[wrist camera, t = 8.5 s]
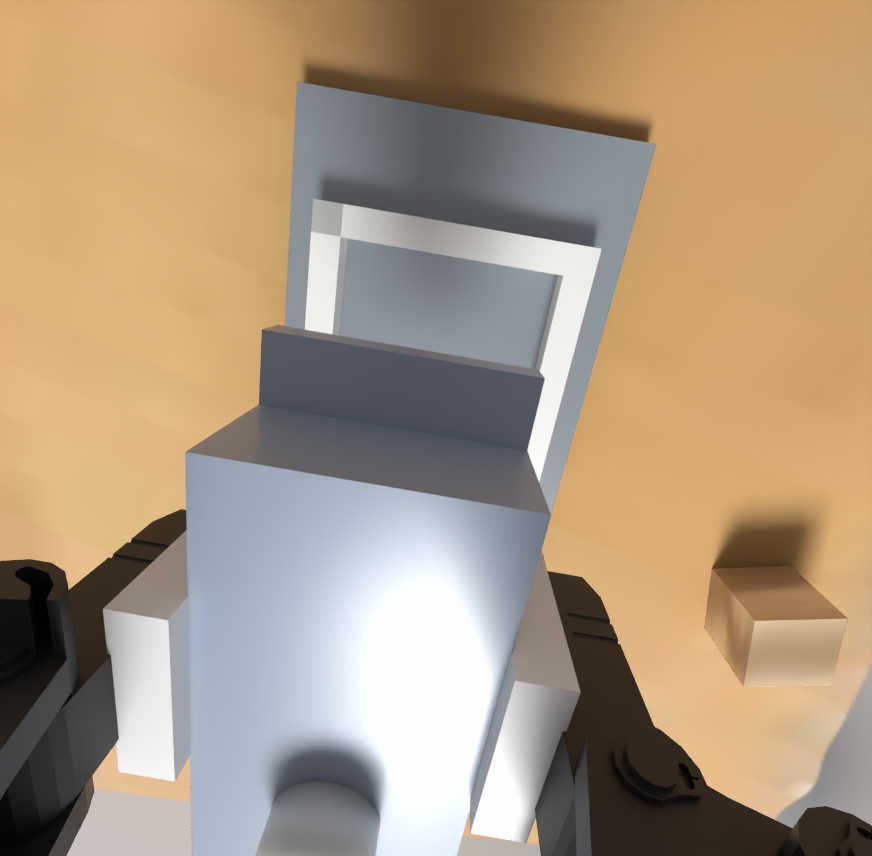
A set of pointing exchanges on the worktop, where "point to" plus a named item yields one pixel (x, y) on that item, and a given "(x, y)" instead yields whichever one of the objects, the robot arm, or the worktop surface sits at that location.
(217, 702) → the servo block
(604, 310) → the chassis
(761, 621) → the oak block
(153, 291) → the worktop surface
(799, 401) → the worktop surface
